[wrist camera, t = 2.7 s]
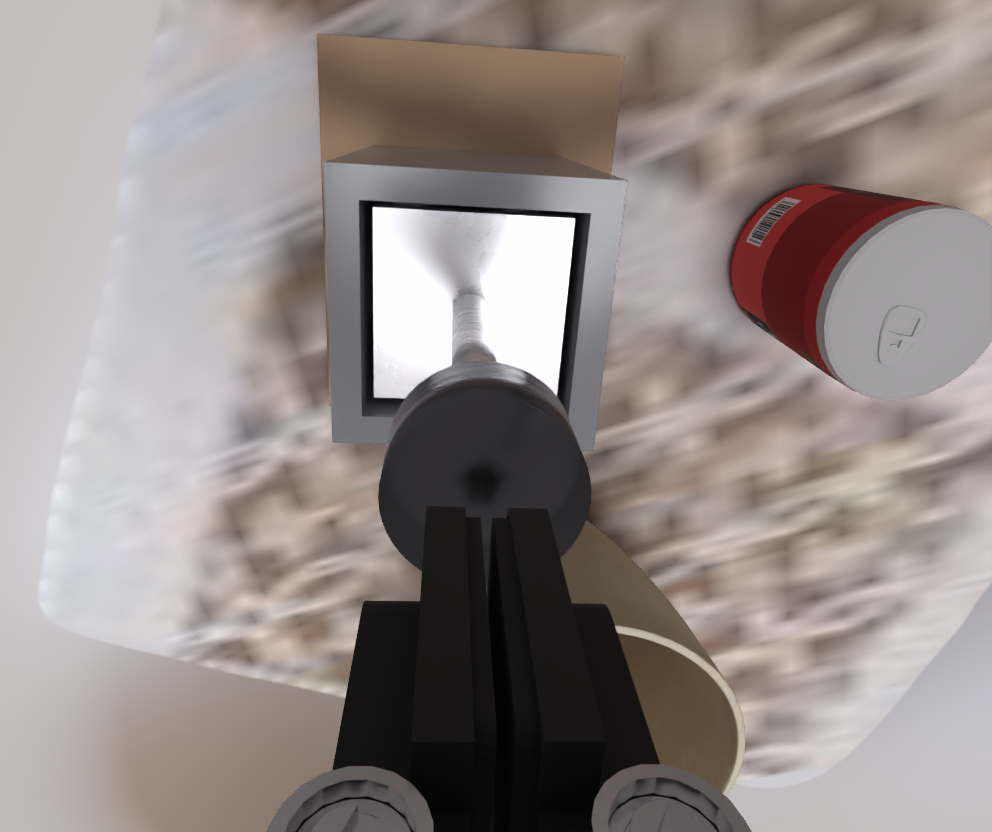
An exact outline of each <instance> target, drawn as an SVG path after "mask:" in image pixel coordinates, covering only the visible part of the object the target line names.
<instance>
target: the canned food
mask: <svg viewBox="0 0 992 832" xmlns="http://www.w3.org/2000/svg"><path fill="white" fill-rule="evenodd" d="M731 279H732V286H733V290H734V293H735V296H736V299H737V302H738V304H739V306H740V307H741V309H742V311H743V312H744V314H745V315H746V316H747V317H748V318H749V319H750V320H751V321H752V322H753V323H755V324H756V325H757V326H759V327H760V328H762V329H763V330H765V331H766V332H767V333H769V334H770V335H772V336H773V337H775V338H776V339H777V340H779V341H780V342H782V343H783V344H785V345H786V346H787V347H789V348H790V349H792V350H793V351H795V352H796V353H797V354H799V355H800V356H802V357H803V358H805V359H806V360H807V361H809V362H810V363H812V364H813V365H815V366H816V367H817V368H819V369H820V370H822V371H823V372H825V373H826V374H828V375H829V376H831V377H832V378H834V379H835V380H837V381H839V382H840V383H842V384H843V385H845V386H846V387H848V388H850V389H851V390H853V391H856V392H858V393H860V394H863V395H865V396H868V397H871V398H874V399H882V400H891V401H892V400H903V399H910V398H914V397H918V396H921V395H925V394H928V393H930V392H932V391H934V390H936V389H939V388H941V387H943V386H945V385H946V384H948V383H949V382H951V381H952V380H954V379H955V378H957V377H958V376H960V375H961V374H962V373H963V372H964V371H966V370H967V369H968V368H969V367H970V366H971V365H972V364H973V363H975V362H976V360H977V359H978V358H979V357H980V356H981V354H982V353H983V352H984V351H985V350H986V349H987V347H988V346H989V345H990V343H991V341H992V226H991V225H990V224H989V223H987V222H986V221H985V220H984V219H982V218H981V217H979V216H977V215H974V214H972V213H969V212H967V211H964V210H961V209H959V208H957V207H952V206H946V205H941V204H938V203H933V202H927V201H921V200H915V199H909V198H903V197H897V196H891V195H885V194H879V193H873V192H867V191H861V190H855V189H849V188H843V187H837V186H831V185H824V184H813V185H804V186H801V187H797V188H794V189H791V190H789V191H787V192H785V193H783V194H781V195H779V196H777V197H775V198H773V199H772V200H770V201H769V202H768V203H766V204H765V205H764V206H762V207H761V208H760V209H759V210H758V211H757V212H756V213H755V214H754V215H753V216H752V217H751V218H750V220H749V221H748V223H747V224H746V226H745V227H744V229H743V230H742V232H741V234H740V236H739V238H738V240H737V243H736V245H735V249H734V252H733V256H732V263H731Z"/></svg>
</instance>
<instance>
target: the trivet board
mask: <svg viewBox="0 0 992 832" xmlns="http://www.w3.org/2000/svg"><path fill="white" fill-rule="evenodd" d="M317 47H318V77H319V107H320V137H321V167H322V197H323V227H324V257H325V288H326V318H327V348H328V378H329V406H331V380H330V349H329V318H328V287H327V256H326V225H325V194H324V163H323V162H325V161H328V160H331V159H334V158H337V157H340V156H343V155H346V154H349V153H352V152H355V151H358V150H361V149H364V148H367V147H370V146H372V145H383V146H399V147H414V148H430V149H446V150H461V151H477V152H493V153H508V154H524V155H540V156H556V157H563V158H566V159H569V160H572V161H575V162H577V163H580V164H583V165H586V166H588V167H591V168H594V169H597V170H599V171H602V172H605V173H608V174H610V175H611V170H612V161H613V153H614V145H615V136H616V128H617V119H618V111H619V103H620V94H621V86H622V77H623V69H624V61H625V57H622V56H609V55H596V54H582V53H569V52H556V51H542V50H529V49H516V48H502V47H489V46H476V45H462V44H449V43H436V42H422V41H409V40H396V39H383V38H369V37H356V36H343V35H329V34H317Z"/></svg>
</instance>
